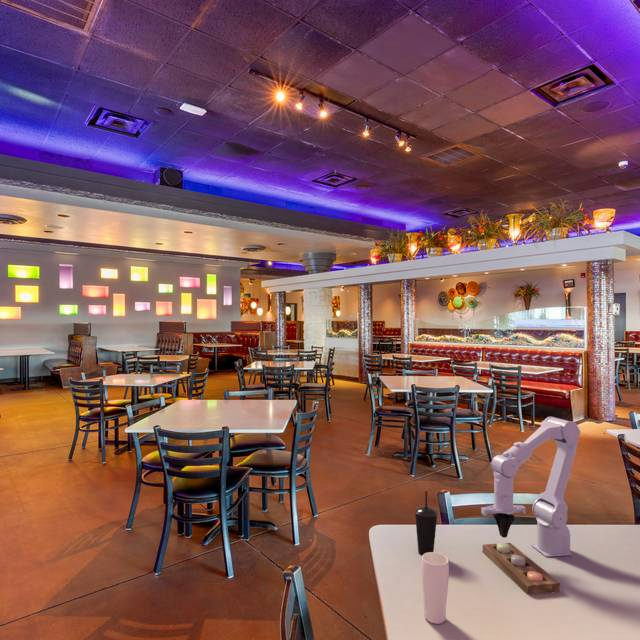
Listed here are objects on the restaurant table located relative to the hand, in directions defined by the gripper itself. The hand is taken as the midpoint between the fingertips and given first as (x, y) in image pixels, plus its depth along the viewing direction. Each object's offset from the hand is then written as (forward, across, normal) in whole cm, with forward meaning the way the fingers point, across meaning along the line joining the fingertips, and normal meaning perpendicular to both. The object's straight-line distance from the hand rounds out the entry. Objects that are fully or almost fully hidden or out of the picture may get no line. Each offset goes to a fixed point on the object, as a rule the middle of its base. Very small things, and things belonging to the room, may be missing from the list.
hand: (503, 536), depth 144 cm
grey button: (+6, 0, -8) cm, 10 cm away
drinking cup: (+7, -24, +6) cm, 26 cm away
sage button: (+6, 0, 0) cm, 6 cm away
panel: (+7, 0, -8) cm, 10 cm away
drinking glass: (+7, -35, -26) cm, 44 cm away
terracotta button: (+6, 0, -16) cm, 17 cm away
